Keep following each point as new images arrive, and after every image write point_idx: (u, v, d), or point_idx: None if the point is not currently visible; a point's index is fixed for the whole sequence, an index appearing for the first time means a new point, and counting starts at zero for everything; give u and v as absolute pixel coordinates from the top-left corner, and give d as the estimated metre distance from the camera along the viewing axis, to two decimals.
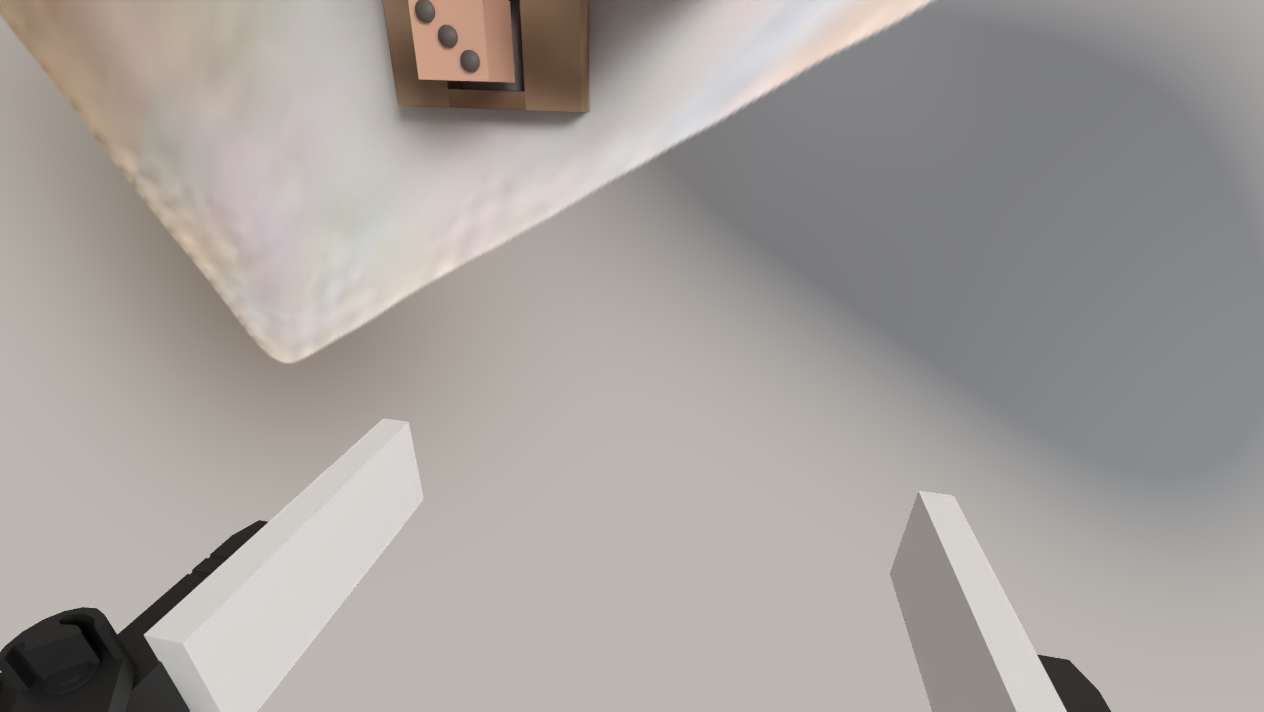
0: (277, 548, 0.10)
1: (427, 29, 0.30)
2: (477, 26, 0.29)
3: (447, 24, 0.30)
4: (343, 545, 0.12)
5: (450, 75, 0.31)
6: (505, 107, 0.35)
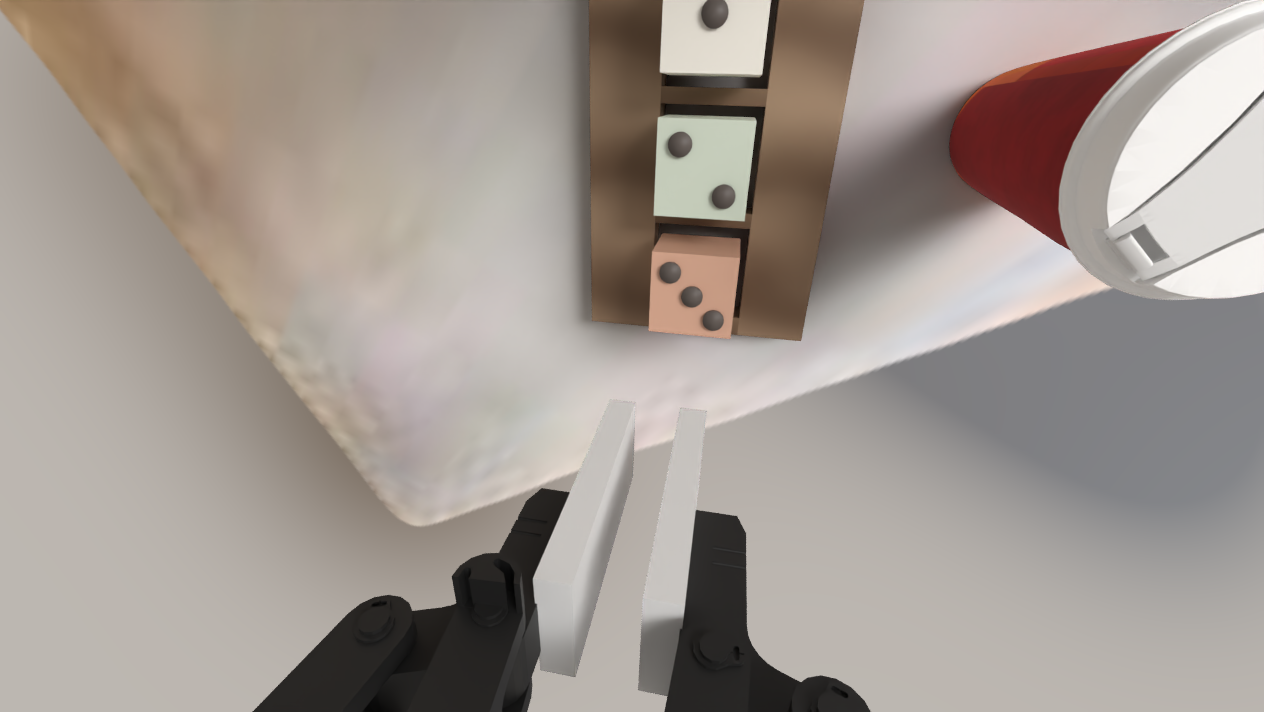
0: (596, 509, 0.11)
1: (668, 288, 0.27)
2: (727, 290, 0.27)
3: (693, 286, 0.27)
4: (611, 511, 0.13)
5: (686, 330, 0.28)
6: None
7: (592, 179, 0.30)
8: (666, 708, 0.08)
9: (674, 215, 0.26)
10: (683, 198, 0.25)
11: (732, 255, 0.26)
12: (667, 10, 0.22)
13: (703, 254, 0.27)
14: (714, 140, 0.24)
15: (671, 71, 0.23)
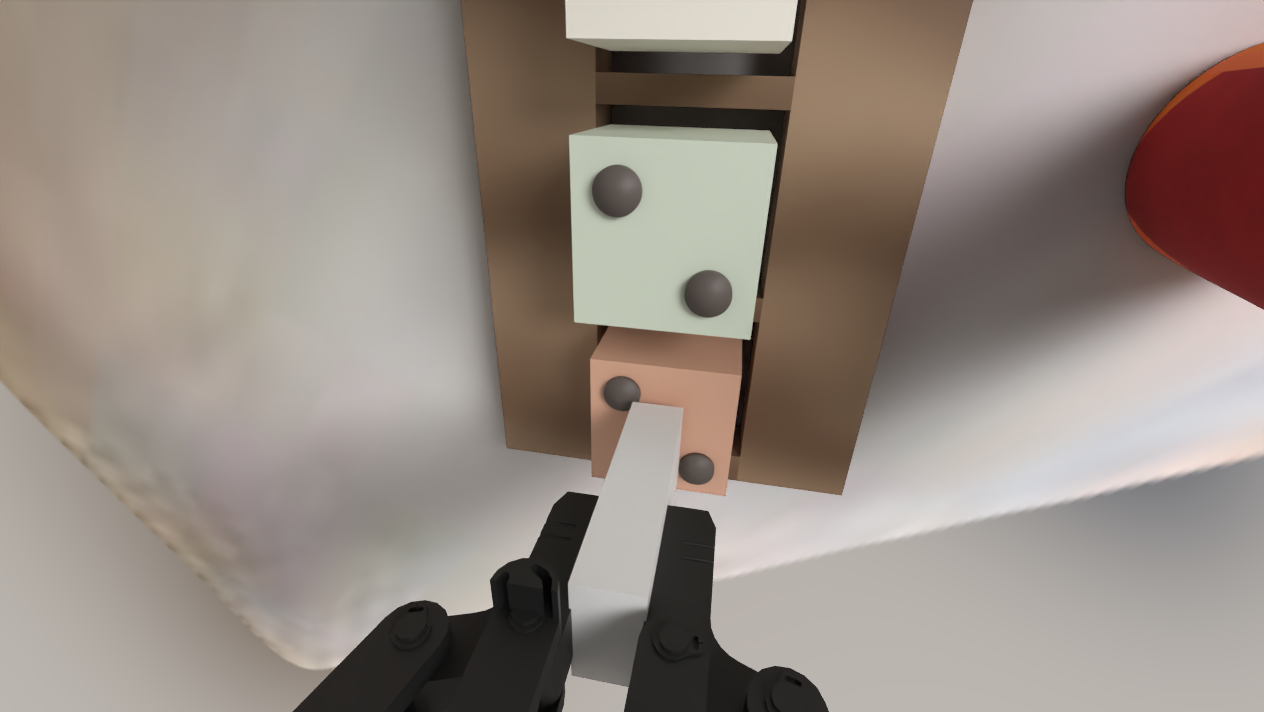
0: (626, 512, 0.11)
1: (621, 416, 0.16)
2: (720, 424, 0.16)
3: None
4: None
5: None
6: None
7: (487, 234, 0.17)
8: (627, 701, 0.08)
9: (613, 323, 0.13)
10: (630, 294, 0.13)
11: (729, 368, 0.15)
12: None
13: (678, 365, 0.15)
14: (688, 183, 0.11)
15: (591, 35, 0.11)
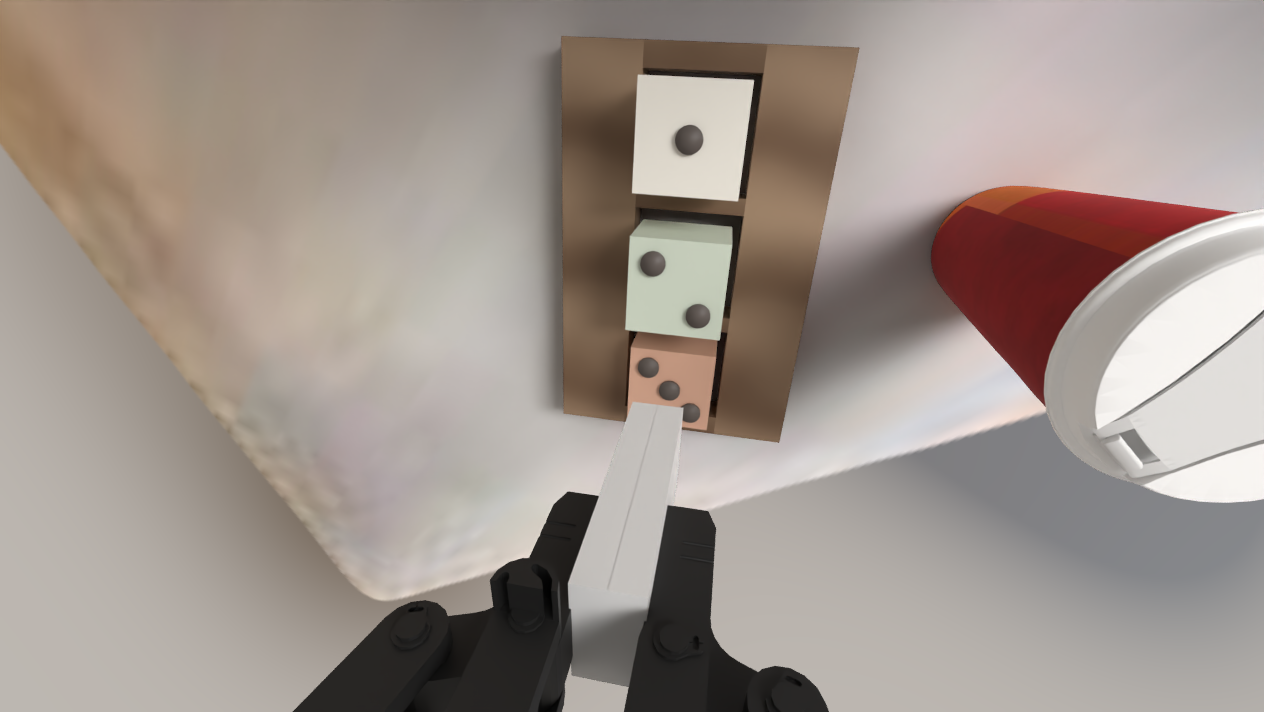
0: (626, 513, 0.11)
1: (647, 381, 0.28)
2: (704, 386, 0.28)
3: (671, 381, 0.28)
4: None
5: None
6: (690, 428, 0.31)
7: (564, 277, 0.29)
8: (627, 701, 0.08)
9: (647, 330, 0.25)
10: (656, 315, 0.24)
11: (709, 353, 0.27)
12: (640, 134, 0.21)
13: (680, 351, 0.27)
14: (688, 261, 0.23)
15: (644, 192, 0.22)
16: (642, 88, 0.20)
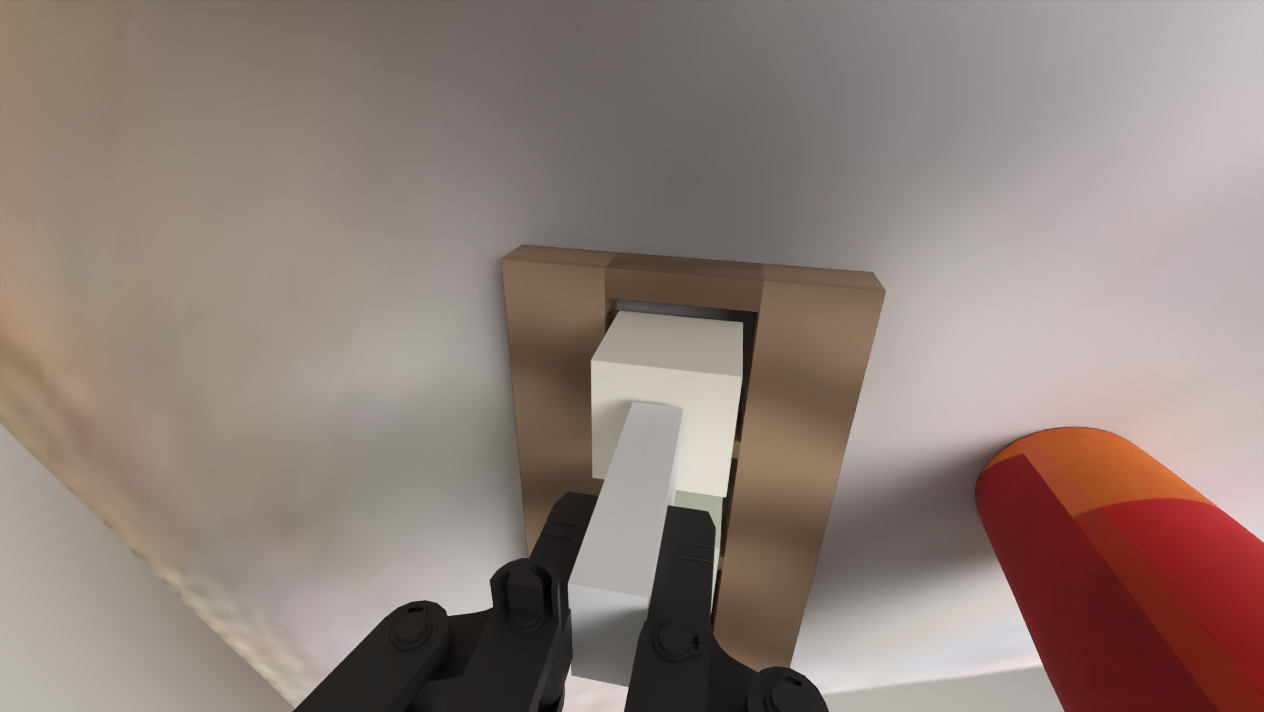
0: (626, 512, 0.11)
1: None
2: None
3: None
4: None
5: None
6: None
7: (525, 502, 0.24)
8: (627, 701, 0.08)
9: None
10: None
11: None
12: (598, 420, 0.16)
13: None
14: None
15: None
16: (598, 374, 0.16)
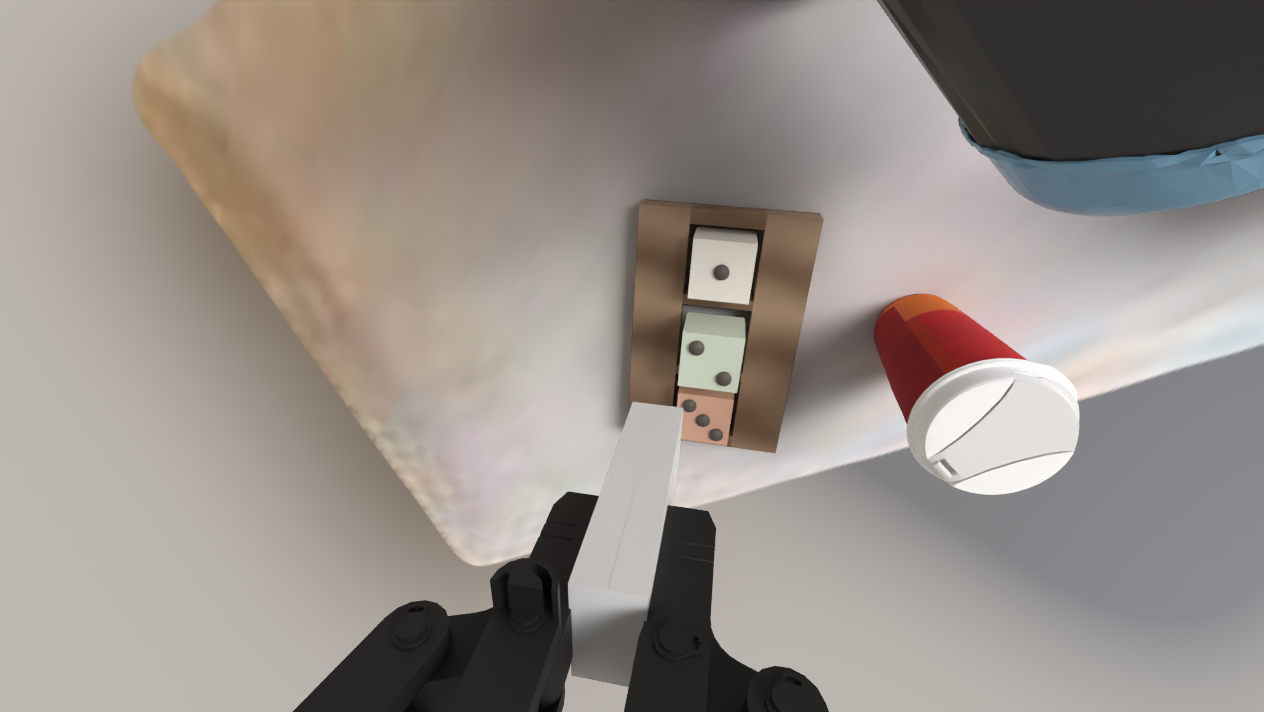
0: (626, 512, 0.11)
1: (688, 414, 0.43)
2: (725, 417, 0.42)
3: (704, 414, 0.42)
4: None
5: (698, 439, 0.44)
6: None
7: (633, 344, 0.43)
8: (627, 701, 0.08)
9: (691, 386, 0.39)
10: (697, 377, 0.39)
11: (729, 397, 0.42)
12: (693, 268, 0.38)
13: (710, 395, 0.42)
14: (718, 347, 0.38)
15: (694, 298, 0.38)
16: (695, 245, 0.37)
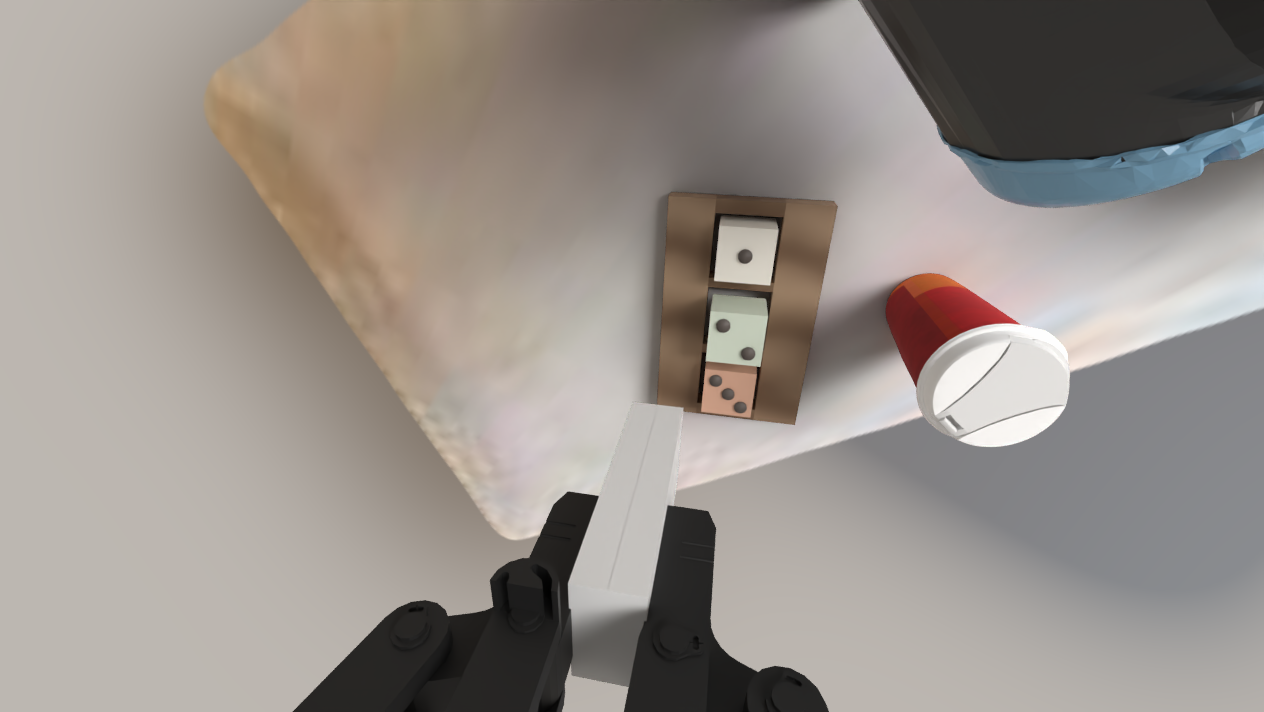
0: (626, 512, 0.11)
1: (714, 389, 0.47)
2: (749, 391, 0.46)
3: (729, 389, 0.46)
4: None
5: (724, 412, 0.47)
6: (738, 416, 0.50)
7: (662, 325, 0.47)
8: (626, 701, 0.08)
9: (718, 361, 0.43)
10: (724, 353, 0.43)
11: (752, 372, 0.46)
12: (719, 253, 0.41)
13: (735, 371, 0.46)
14: (743, 324, 0.41)
15: (720, 280, 0.42)
16: (721, 232, 0.41)
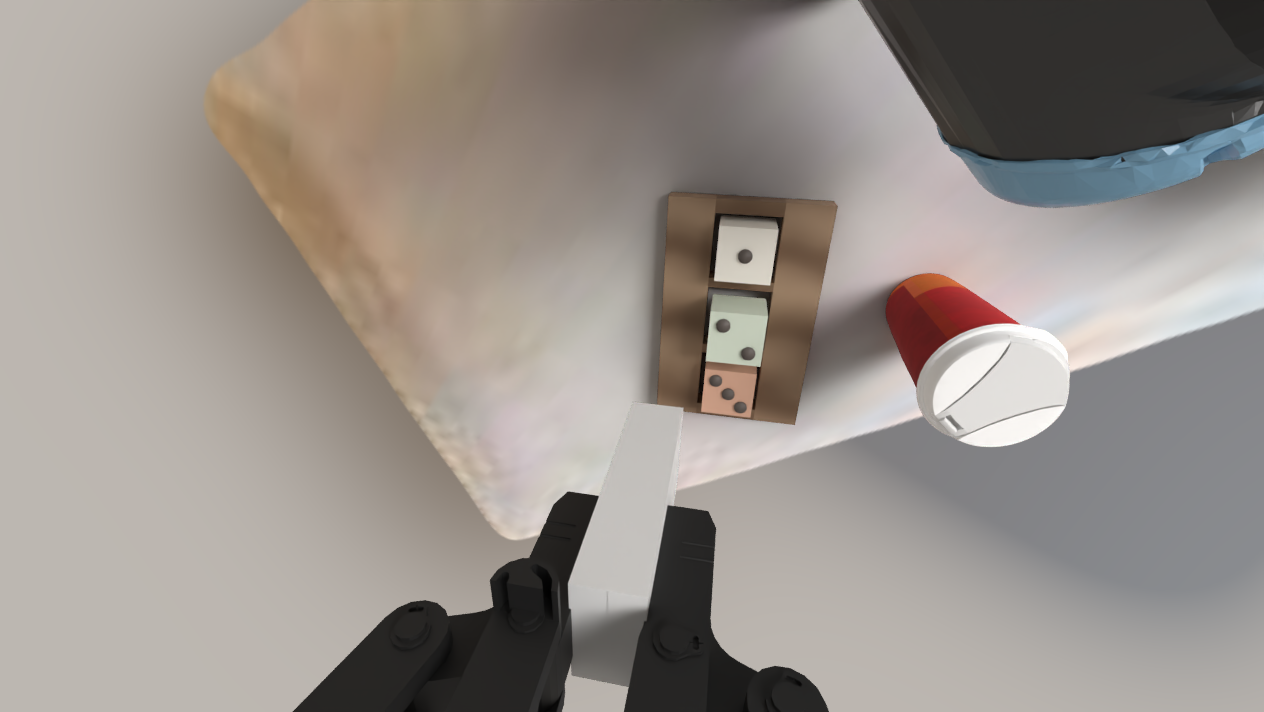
0: (626, 512, 0.11)
1: (714, 389, 0.47)
2: (749, 391, 0.46)
3: (729, 389, 0.46)
4: None
5: (724, 412, 0.47)
6: (738, 416, 0.50)
7: (662, 325, 0.47)
8: (626, 701, 0.08)
9: (718, 361, 0.43)
10: (724, 353, 0.43)
11: (752, 372, 0.46)
12: (719, 253, 0.41)
13: (735, 371, 0.46)
14: (743, 324, 0.41)
15: (720, 280, 0.42)
16: (721, 232, 0.41)
